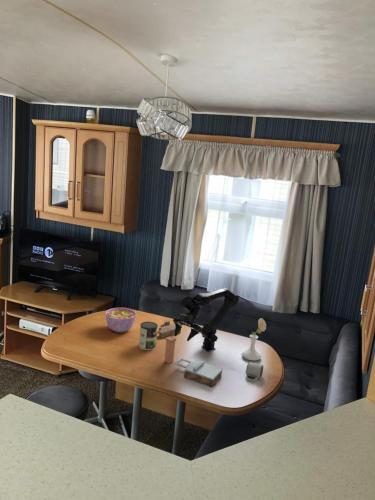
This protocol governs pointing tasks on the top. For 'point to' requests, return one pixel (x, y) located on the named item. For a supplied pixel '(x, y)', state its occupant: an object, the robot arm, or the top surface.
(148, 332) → the coffee can
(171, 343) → the salmon brown tall block
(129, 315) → the bowl of food
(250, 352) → the flower in vase
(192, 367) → the lid
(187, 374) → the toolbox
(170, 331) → the wooden block set
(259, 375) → the ceramic mug
